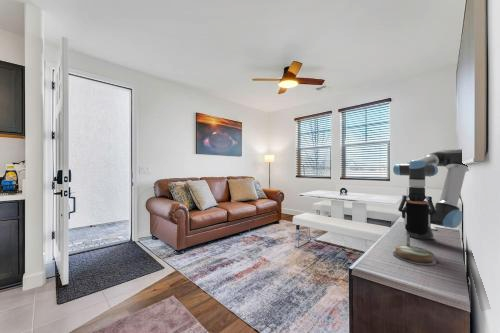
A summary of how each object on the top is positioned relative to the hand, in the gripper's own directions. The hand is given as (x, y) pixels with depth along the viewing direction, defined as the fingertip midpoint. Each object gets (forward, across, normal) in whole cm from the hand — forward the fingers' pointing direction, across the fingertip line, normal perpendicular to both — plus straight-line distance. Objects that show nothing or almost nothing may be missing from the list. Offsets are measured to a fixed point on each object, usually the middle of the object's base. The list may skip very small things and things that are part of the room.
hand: (416, 224), depth 127 cm
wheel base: (+14, +7, +16) cm, 22 cm away
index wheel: (+14, +7, +16) cm, 22 cm away
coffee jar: (+4, 0, 0) cm, 4 cm away
